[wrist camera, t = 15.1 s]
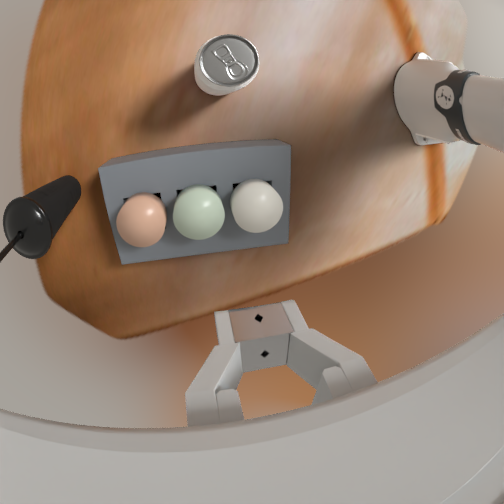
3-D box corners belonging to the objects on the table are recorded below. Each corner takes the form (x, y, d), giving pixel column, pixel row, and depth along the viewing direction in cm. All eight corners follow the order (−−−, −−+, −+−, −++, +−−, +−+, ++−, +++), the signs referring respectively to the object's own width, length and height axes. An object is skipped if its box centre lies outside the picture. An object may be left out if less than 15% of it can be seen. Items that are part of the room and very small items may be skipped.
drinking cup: (48, 209, 34) (-19, 283, 17) (50, 163, 30) (-31, 218, 14) (87, 217, 36) (31, 299, 19) (92, 170, 33) (21, 230, 16)
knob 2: (265, 167, 38) (283, 183, 31) (265, 205, 41) (282, 229, 34) (223, 170, 37) (231, 188, 30) (226, 209, 40) (234, 235, 33)
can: (213, 104, 32) (222, 103, 22) (184, 71, 29) (180, 55, 19) (251, 78, 31) (276, 67, 21) (223, 44, 28) (237, 19, 18)
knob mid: (216, 171, 37) (222, 189, 30) (219, 210, 40) (226, 236, 33) (174, 176, 36) (169, 195, 29) (179, 215, 39) (177, 242, 32)
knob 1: (167, 177, 36) (160, 196, 28) (173, 216, 39) (169, 243, 32) (127, 183, 35) (111, 204, 27) (134, 221, 38) (122, 250, 31)
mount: (277, 139, 37) (290, 145, 32) (276, 225, 44) (288, 243, 39) (111, 158, 33) (98, 168, 28) (129, 244, 40) (122, 264, 35)
